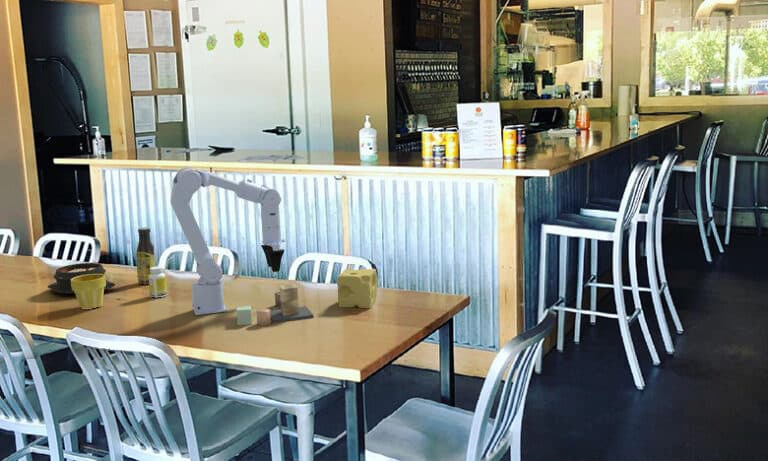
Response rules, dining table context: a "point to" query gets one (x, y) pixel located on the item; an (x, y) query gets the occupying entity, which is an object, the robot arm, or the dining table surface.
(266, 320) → the brown block
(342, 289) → the cheese
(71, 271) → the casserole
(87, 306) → the plant pot
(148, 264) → the sauce bottle
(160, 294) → the supplement bottle
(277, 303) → the walnut block
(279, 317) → the bar mat
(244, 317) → the sage block
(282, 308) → the oak block
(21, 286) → the dining table surface
